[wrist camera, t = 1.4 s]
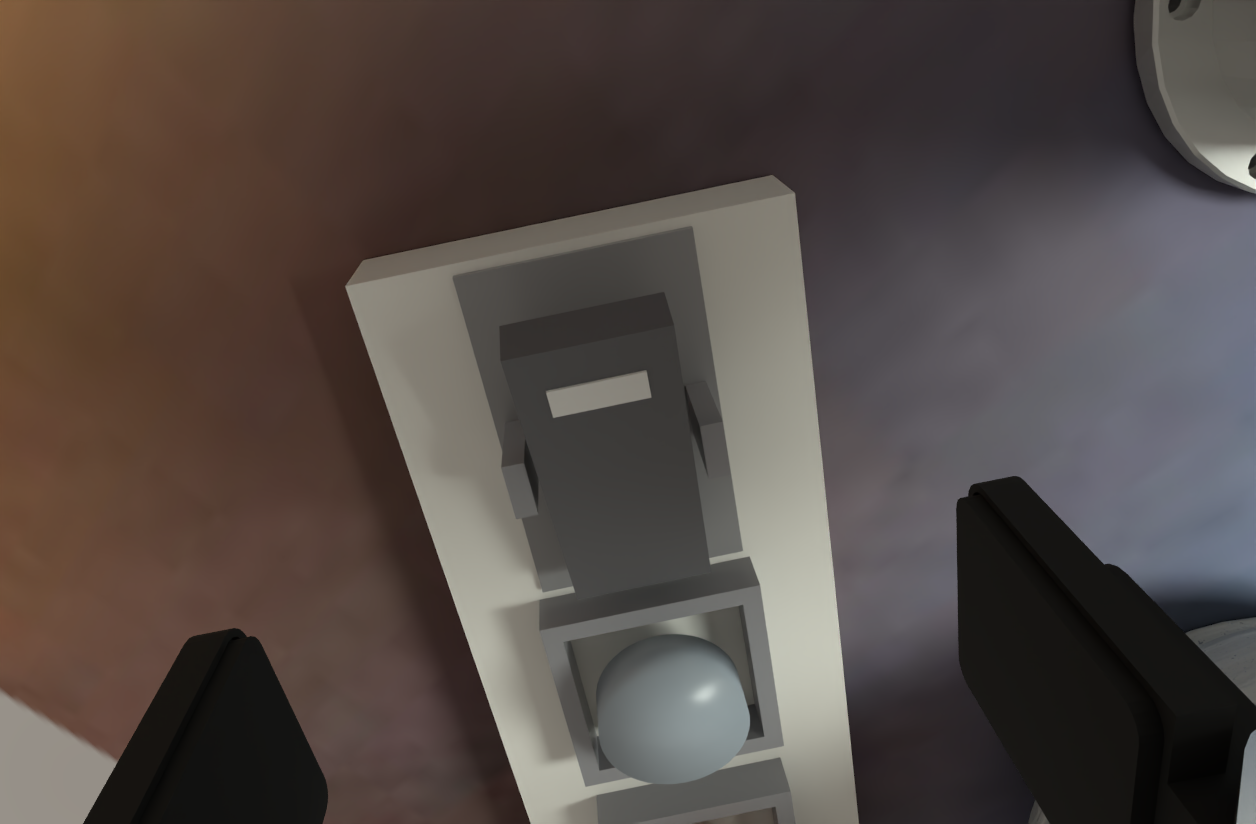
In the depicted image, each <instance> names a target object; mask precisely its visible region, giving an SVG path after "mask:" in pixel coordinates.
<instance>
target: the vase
mask: <svg viewBox="0 0 1256 824" xmlns="http://www.w3.org/2000/svg"><path fill="white" fill-rule="evenodd" d="M1185 634H1186V635H1187V636H1188V637H1189V638H1190V639H1191V640H1192V641H1193V642H1194V643H1195V644H1196V645H1197V646H1198V647H1199V648H1200V649H1201V650H1202V651H1203V652H1204V653H1205V654H1206V655H1207V656H1208V657H1209V658H1210V659H1211V660H1212V661H1213V662H1214V663H1215V664H1216V665H1217V666H1218V667H1219V669H1220V670H1221V671H1222V672H1223V673H1224V674H1225V675H1226V676H1227V677H1228V678H1229V679H1230V680H1231V681H1232V682H1233V683H1234V684H1235V685H1236V686H1237V687H1238V688H1239V689H1240V690H1241V691H1242V692H1243V693H1244V694H1245V695H1246V696H1247V697H1248V698H1249V699H1250V700H1251V701H1252V702H1253V703H1254V704H1255V705H1256V617H1253V618H1246V619H1239V620H1232V621H1225V622H1220V623H1217V624H1213V625H1210V626H1206V627H1202V628H1199V629H1195V630H1191V631H1189V632H1186V633H1185ZM1028 824H1049V822H1048V820H1047V818H1046V817H1045V815H1044V813H1043V812H1042V810H1041V808H1040V807H1039V805H1038V803H1037V802H1036V800H1035V802H1034V805H1033V807H1032V810H1031V814H1030V817H1029V821H1028Z"/></svg>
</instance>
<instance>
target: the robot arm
mask: <svg viewBox="0 0 1256 824" xmlns="http://www.w3.org/2000/svg"><path fill="white" fill-rule="evenodd" d="M1169 1H1170V3H1169ZM1168 4H1169V6H1168ZM1133 21H1134V36H1135V50H1136V64H1137V68H1138V72H1139V75H1140V79H1141V83H1142V86H1143V90H1144V94H1145V97H1146V101H1147V104H1148V106H1149V108H1150V110H1151V112H1152V114H1153V115H1154V117H1155V119H1156V121H1157V123H1158V125H1159V127H1160V128H1161V130H1162V132H1163V134H1164V136H1165V137H1166V138H1167V139H1168V141H1169V142H1170V143H1171V144H1172V145H1173V146H1174V147H1175V148H1176V149H1177V150H1178V152H1179V153H1180V154H1181V155H1182V156H1183V157H1184V158H1185V159H1186V160H1187V161H1188V163H1190V164H1192V165H1193V166H1195V167H1196V168H1198V169H1199V170H1201V171H1202V172H1204V173H1205V174H1207V175H1209V176H1210V177H1212V178H1213V179H1215V180H1216V181H1218V182H1221V183H1224V184H1227V185H1230V186H1233V187H1236V188H1239V189H1242V190H1245V191H1248V192H1251V193H1255V194H1256V0H1135V10H1134V19H1133ZM956 515H957V578H958V642H959V661H960V666H961V670H962V673H963V676H964V679H965V681H966V683H967V685H968V687H969V688H970V690H971V692H972V694H973V695H974V697H975V699H976V700H977V702H978V704H979V705H980V707H981V709H982V710H983V712H984V714H985V715H986V717H987V719H988V721H989V722H990V724H991V726H992V727H993V729H994V731H995V732H996V734H997V736H998V737H999V739H1000V741H1001V743H1002V744H1003V746H1004V748H1005V749H1006V751H1007V753H1008V754H1009V756H1010V758H1011V759H1012V761H1013V763H1014V764H1015V766H1016V768H1017V770H1018V771H1019V773H1020V775H1021V776H1022V778H1023V780H1024V781H1025V783H1026V785H1027V786H1028V788H1029V790H1030V791H1031V793H1032V795H1033V797H1034V798H1035V800H1036V802H1037V803H1038V805H1039V807H1040V808H1041V810H1042V812H1043V813H1044V815H1045V817H1046V818H1047V820H1048V822H1049V824H1256V705H1255V704H1254V703H1253V702H1252V701H1251V700H1250V699H1249V698H1248V697H1247V696H1246V695H1245V694H1244V693H1243V692H1242V691H1241V690H1240V689H1239V688H1238V687H1237V686H1236V685H1235V684H1234V683H1233V682H1232V681H1231V680H1230V679H1229V678H1228V677H1227V676H1226V675H1225V674H1224V673H1223V672H1222V671H1221V670H1220V669H1219V667H1218V666H1217V665H1216V664H1215V663H1214V662H1213V661H1212V660H1211V659H1210V658H1209V657H1208V656H1207V655H1206V654H1205V653H1204V652H1203V651H1202V650H1201V649H1200V648H1199V647H1198V646H1197V645H1196V644H1195V643H1194V642H1193V641H1192V640H1191V639H1190V638H1189V637H1188V636H1187V635H1186V634H1185V633H1184V632H1183V631H1182V630H1181V629H1180V628H1179V627H1178V626H1177V625H1176V624H1175V622H1174V621H1173V620H1172V619H1171V618H1170V617H1169V616H1168V615H1167V614H1166V613H1165V612H1164V611H1163V610H1162V609H1161V608H1160V607H1159V606H1158V605H1157V604H1156V603H1155V602H1154V601H1153V600H1152V599H1151V598H1150V597H1149V596H1148V595H1147V594H1146V593H1145V592H1144V591H1143V590H1142V589H1141V588H1140V587H1139V586H1138V585H1137V584H1136V583H1135V582H1134V581H1133V580H1132V578H1131V577H1130V576H1129V575H1128V574H1126V573H1125V572H1124V571H1123V570H1121V569H1120V568H1119V567H1118V566H1114V565H1111V564H1105V565H1104V564H1103V563H1102V562H1101V561H1100V560H1099V559H1098V558H1097V557H1096V556H1095V555H1094V553H1093V552H1092V551H1091V550H1090V549H1089V548H1088V547H1087V546H1086V545H1085V544H1084V543H1083V542H1082V541H1081V540H1080V539H1079V538H1078V537H1077V536H1076V535H1075V534H1074V533H1073V531H1072V530H1071V529H1070V528H1069V527H1068V526H1067V525H1066V524H1065V523H1064V522H1063V521H1062V520H1061V519H1060V518H1059V517H1058V516H1057V515H1056V514H1055V513H1054V512H1053V510H1052V509H1051V508H1050V507H1049V506H1048V505H1047V504H1046V503H1045V502H1044V501H1043V500H1042V499H1041V498H1040V497H1039V496H1038V495H1037V494H1036V493H1035V492H1034V491H1033V490H1032V488H1031V487H1030V486H1029V485H1028V484H1027V483H1026V482H1025V481H1024V480H1023V479H1021V478H1020V477H1017V476H1012V477H1007V478H1002V479H997V480H992V481H987V482H982V483H976V484H973V485H972V486H971V487H970V490H969V494H968V497H964V498H960V499H959V500H958V502H957V508H956ZM327 803H328V790H327V784H326V780H325V777H324V775H323V773H322V771H321V769H320V767H319V765H318V762H317V760H316V758H315V756H314V754H313V752H312V750H311V748H310V746H309V744H308V741H307V739H306V737H305V735H304V733H303V731H302V729H301V727H300V725H299V722H298V720H297V718H296V716H295V714H294V712H293V710H292V708H291V706H290V704H289V701H288V699H287V697H286V695H285V693H284V691H283V689H282V687H281V685H280V683H279V680H278V678H277V676H276V674H275V672H274V670H273V668H272V666H271V664H270V662H269V659H268V657H267V655H266V653H265V651H264V649H263V647H262V645H261V643H260V642H259V640H258V639H257V638H256V637H252V636H250V637H246V635H245V634H244V633H243V632H242V631H241V630H240V629H236V628H233V629H228V630H223V631H218V632H212V633H207V634H202V635H197V636H193V637H191V638H189V639H188V640H187V642H186V643H185V644H184V646H183V648H182V649H181V651H180V653H179V655H178V656H177V658H176V660H175V662H174V664H173V665H172V667H171V669H170V671H169V672H168V674H167V676H166V678H165V679H164V681H163V683H162V685H161V687H160V688H159V690H158V692H157V694H156V695H155V697H154V699H153V701H152V702H151V704H150V706H149V708H148V710H147V711H146V713H145V715H144V717H143V718H142V720H141V722H140V724H139V726H138V727H137V729H136V731H135V733H134V734H133V736H132V738H131V740H130V741H129V743H128V745H127V747H126V749H125V750H124V752H123V754H122V756H121V757H120V759H119V761H118V763H117V764H116V767H115V768H114V770H113V772H112V773H111V775H110V777H109V779H108V780H107V782H106V784H105V786H104V787H103V789H102V791H101V793H100V795H99V796H98V798H97V800H96V802H95V804H94V805H93V807H92V809H91V810H90V812H89V814H88V816H87V818H86V819H85V821H84V823H83V824H322V823H323V820H324V816H325V813H326V809H327Z"/></svg>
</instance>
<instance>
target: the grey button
mask: <svg viewBox="0 0 1256 824" xmlns="http://www.w3.org/2000/svg"><path fill="white" fill-rule="evenodd" d="M596 704H597V718H598V731H599V740H600V745H601V748H602V751H603V753H604V754H605V756H606V758H607V759H608V760H609V762H610V763H611V764H612V765H613V766H614V767H615V768H616V769H618V770H619V771H621V772H622V773H624V774H625V775H627V776H629V777H631V778H634V779H637V780H639V781H643V782H647V783H654V784H679V783H686V782H690V781H694V780H697V779H700V778H703V777H705V776H708V775H710V774H712V773H714V772H715V771H717V770H719V769H720V768H722V767H723V766H725V765H726V764H727V763H729V762H730V761H731V760H732V759H733V758H734V757H735V756H736V754H737V753H738V752H739V751H740V749H741V748H742V746H743V745H744V743H745V741H746V738H747V736H748V732H749V727H750V714H749V710H748V707H747V703H746V700H745V696H744V693H743V689H742V686H741V682H740V678H739V675H738V671H737V669H736V667H735V664H734V662H733V661H732V660H731V658H730V657H729V656H728V655H727V654H726V652H725V651H723V650H722V649H721V648H720V647H718V646H717V645H715V644H713V643H712V642H709V641H707V640H705V639H702V638H699V637H695V636H690V635H683V634H666V635H659V636H654V637H650V638H646V639H644V640H641V641H638V642H636V643H634V644H632V645H630V646H628V647H627V648H625V649H624V650H622V651H621V652H620V653H618V654H617V655H616V656H615V657H614V658H613V659H612V660H611V661H610V662H609V663H608V664H607V666H606V667H605V669H604V670H603V672H602V674H601V676H600V678H599V681H598V684H597V689H596Z"/></svg>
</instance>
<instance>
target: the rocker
mask: <svg viewBox="0 0 1256 824" xmlns="http://www.w3.org/2000/svg"><path fill="white" fill-rule="evenodd" d="M499 333H500V361H501V364H502V368H503V371H504V374H505V377H506V380H507V383H508V386H509V389H510V392H511V395H512V398H513V402H514V405H515V408H516V411H517V414H518V417H519V420H520V423H521V426H522V429H523V433H524V436H525V439H526V442H527V445H528V448H529V451H530V454H531V457H532V460H533V463H534V467H535V470H536V473H537V476H538V479H539V482H540V485H541V488H542V491H543V494H544V498H545V501H546V504H547V507H548V510H549V513H550V516H551V519H552V522H553V525H554V528H555V532H556V535H557V538H558V541H559V544H560V547H561V550H562V553H563V556H564V559H565V563H566V566H567V569H568V572H569V575H570V578H571V581H572V584H573V587H574V590H575V593H576V597H577V600H580V599H585V598H589V597H594V596H599V595H604V594H609V593H614V592H618V591H623V590H628V589H633V588H638V587H643V586H647V585H652V584H657V583H662V582H667V581H672V580H676V579H681V578H686V577H691V576H696V575H701V574H705V573H710V572H711V567H710V560H709V553H708V547H707V540H706V533H705V527H704V520H703V513H702V507H701V500H700V493H699V487H698V480H697V473H696V467H695V460H694V453H693V447H692V440H691V433H690V427H689V420H688V413H687V407H686V400H685V393H684V387H683V380H682V374H681V367H680V360H679V354H678V347H677V340H676V334H675V327H674V323H673V319H672V316H671V313H670V309H669V306H668V303H667V299H666V296H665V293H664V292H661V293H656V294H651V295H646V296H641V297H637V298H632V299H627V300H622V301H617V302H612V303H608V304H603V305H598V306H593V307H588V308H584V309H579V310H574V311H569V312H564V313H560V314H555V315H550V316H545V317H540V318H535V319H531V320H526V321H521V322H516V323H511V324H507V325H502V326H499Z"/></svg>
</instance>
